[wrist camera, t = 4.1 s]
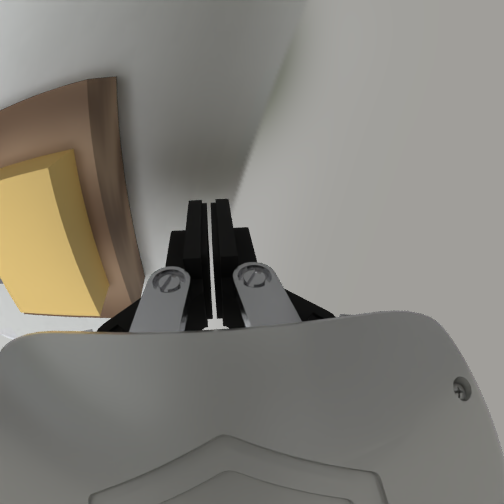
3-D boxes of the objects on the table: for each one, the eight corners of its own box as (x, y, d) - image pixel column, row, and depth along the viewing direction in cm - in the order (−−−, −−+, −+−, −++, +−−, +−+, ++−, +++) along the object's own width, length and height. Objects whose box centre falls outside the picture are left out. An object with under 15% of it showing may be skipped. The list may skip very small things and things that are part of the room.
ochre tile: (-10, 171, 8) (-35, 192, 7) (73, 148, 9) (47, 167, 7) (34, 285, 13) (20, 312, 11) (109, 284, 14) (100, 316, 12)
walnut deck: (-8, 117, 9) (-45, 135, 6) (116, 76, 11) (86, 79, 8) (41, 279, 18) (24, 313, 15) (145, 276, 19) (136, 317, 16)
